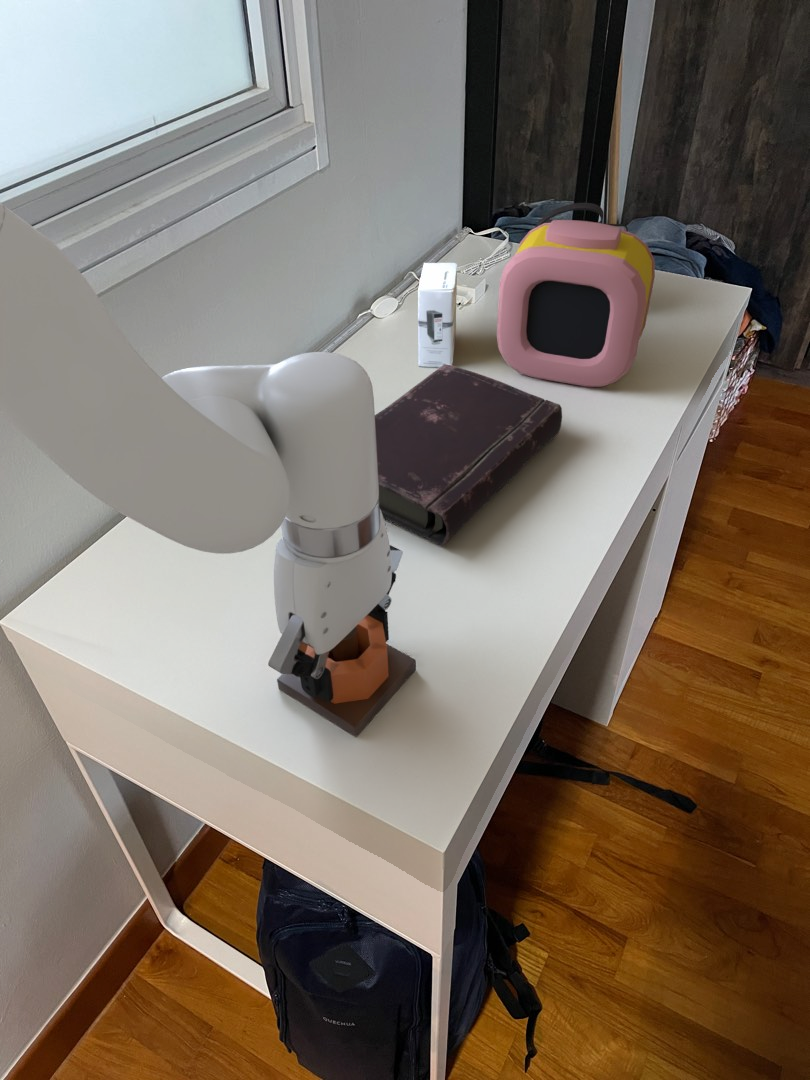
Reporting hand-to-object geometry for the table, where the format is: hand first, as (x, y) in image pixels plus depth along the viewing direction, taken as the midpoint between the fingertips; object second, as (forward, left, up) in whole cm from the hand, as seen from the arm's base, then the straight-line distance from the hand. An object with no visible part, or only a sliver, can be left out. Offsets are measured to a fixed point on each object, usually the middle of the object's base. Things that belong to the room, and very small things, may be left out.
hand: (346, 662), depth 73 cm
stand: (0, 0, -2) cm, 2 cm away
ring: (0, 0, -1) cm, 1 cm away
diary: (+32, +11, -3) cm, 34 cm away
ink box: (+53, +26, -3) cm, 59 cm away
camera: (+77, +17, -3) cm, 79 cm away
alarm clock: (+60, +9, -3) cm, 61 cm away
